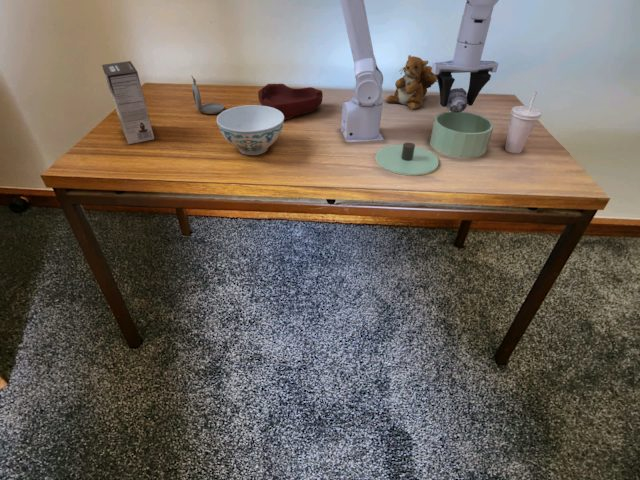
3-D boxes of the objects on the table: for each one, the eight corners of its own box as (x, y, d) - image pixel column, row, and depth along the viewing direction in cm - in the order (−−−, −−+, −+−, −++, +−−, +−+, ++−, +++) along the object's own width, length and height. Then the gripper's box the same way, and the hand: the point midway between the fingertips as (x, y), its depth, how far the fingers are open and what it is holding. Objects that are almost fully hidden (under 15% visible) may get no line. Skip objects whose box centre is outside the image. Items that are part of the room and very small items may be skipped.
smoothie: (514, 158, 93) (535, 98, 84) (493, 147, 97) (511, 88, 88) (532, 152, 95) (555, 93, 86) (511, 142, 99) (531, 84, 91)
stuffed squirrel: (383, 102, 119) (388, 55, 111) (411, 92, 127) (419, 47, 118) (410, 112, 114) (418, 63, 105) (438, 100, 121) (447, 54, 113)
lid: (385, 180, 84) (387, 161, 81) (368, 150, 94) (370, 133, 92) (447, 176, 86) (452, 158, 83) (424, 147, 96) (427, 130, 94)
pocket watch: (229, 109, 113) (224, 73, 106) (207, 119, 107) (201, 81, 101) (208, 103, 116) (202, 67, 110) (186, 112, 110) (178, 75, 104)
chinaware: (268, 169, 87) (266, 135, 82) (208, 156, 90) (203, 124, 85) (295, 141, 98) (294, 110, 93) (241, 131, 101) (237, 101, 96)
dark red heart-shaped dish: (245, 118, 108) (243, 99, 105) (269, 98, 120) (268, 81, 117) (307, 127, 104) (306, 108, 101) (325, 106, 116) (326, 88, 113)
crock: (442, 161, 91) (448, 135, 87) (421, 136, 101) (426, 112, 97) (495, 158, 92) (504, 132, 88) (470, 134, 103) (476, 110, 99)
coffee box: (121, 130, 100) (100, 63, 90) (147, 126, 103) (130, 60, 93) (128, 145, 94) (106, 75, 84) (156, 139, 97) (138, 70, 87)
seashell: (446, 106, 99) (455, 124, 91) (437, 89, 96) (444, 105, 88) (467, 94, 97) (477, 110, 89) (457, 76, 94) (467, 91, 86)
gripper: (493, 36, 88) (477, 97, 97) (431, 37, 86) (420, 99, 95) (510, 43, 83) (491, 108, 91) (444, 45, 81) (431, 111, 89)
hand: (456, 104), depth 93 cm, fingers closed on seashell, 6 cm apart
